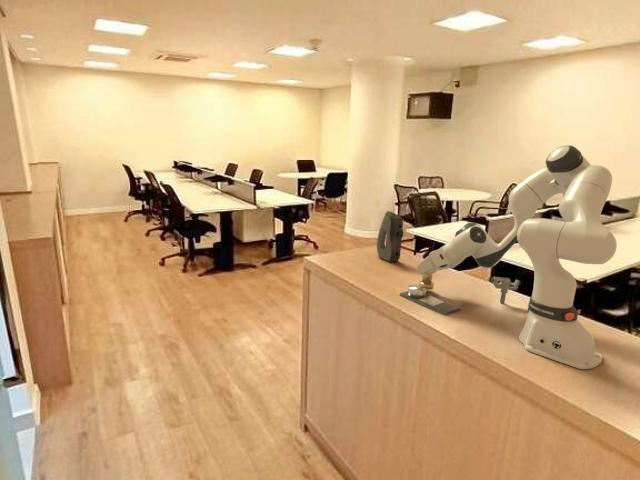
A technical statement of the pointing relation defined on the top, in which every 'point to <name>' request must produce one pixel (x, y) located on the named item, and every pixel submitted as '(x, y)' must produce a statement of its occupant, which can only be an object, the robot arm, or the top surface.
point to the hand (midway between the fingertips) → (426, 273)
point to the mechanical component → (504, 286)
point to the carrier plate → (428, 300)
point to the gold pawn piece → (427, 281)
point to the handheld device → (390, 237)
